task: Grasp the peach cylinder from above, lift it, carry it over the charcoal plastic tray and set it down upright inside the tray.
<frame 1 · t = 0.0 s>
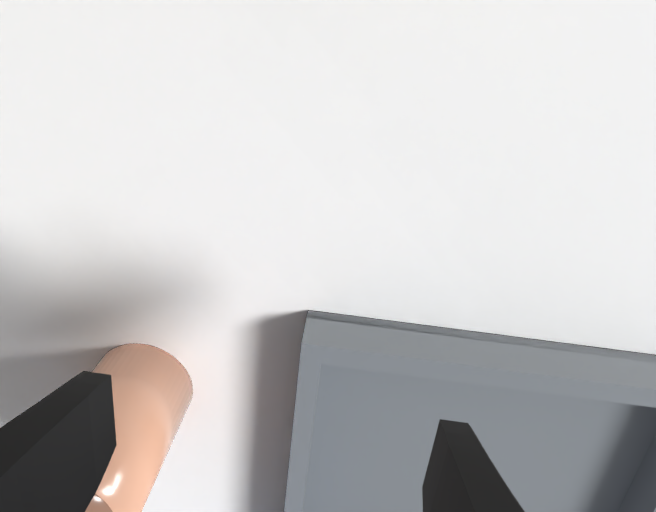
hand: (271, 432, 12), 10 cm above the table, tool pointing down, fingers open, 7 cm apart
peach cylinder: (144, 384, 25), on the table
tray: (465, 461, 25), on the table
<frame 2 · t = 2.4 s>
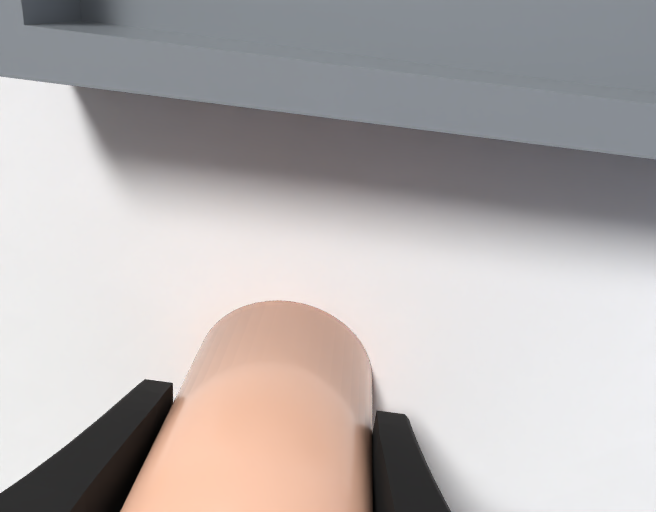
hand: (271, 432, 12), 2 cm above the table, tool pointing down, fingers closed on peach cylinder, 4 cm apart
peach cylinder: (284, 376, 14), on the table, touching gripper
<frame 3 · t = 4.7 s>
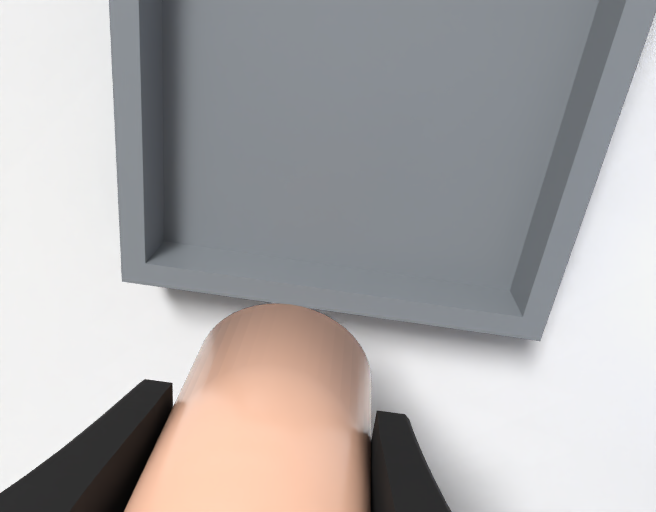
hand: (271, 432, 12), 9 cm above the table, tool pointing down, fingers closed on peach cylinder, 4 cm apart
peach cylinder: (283, 378, 14), point 7 cm above the table, touching gripper
tray: (367, 49, 17), on the table
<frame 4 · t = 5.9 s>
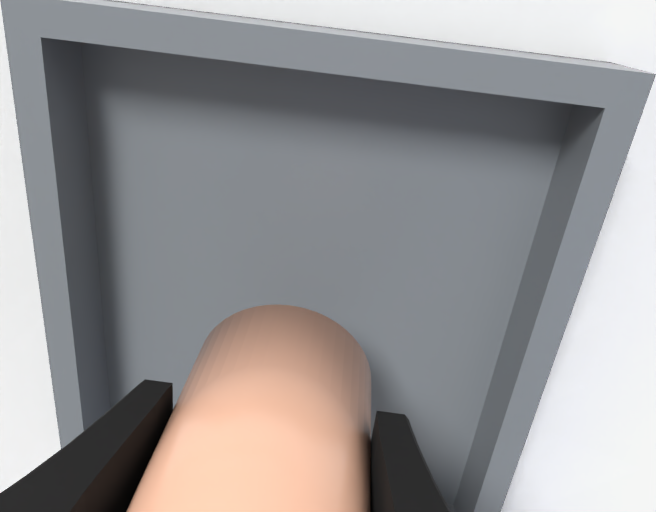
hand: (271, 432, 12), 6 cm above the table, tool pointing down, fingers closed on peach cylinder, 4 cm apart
peach cylinder: (284, 378, 14), point 4 cm above the table, touching gripper
tray: (302, 301, 17), on the table
when the fingers open (4 cm above the table, at t = 7.1 s): peach cylinder drops 1 cm, resting on tray.
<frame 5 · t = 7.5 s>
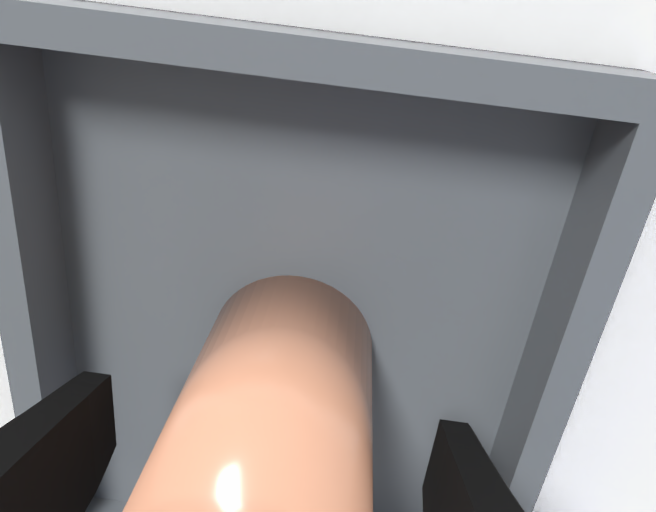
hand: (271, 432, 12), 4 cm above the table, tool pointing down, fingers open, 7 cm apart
peach cylinder: (292, 346, 15), point 1 cm above the table, touching tray
tray: (294, 331, 16), on the table
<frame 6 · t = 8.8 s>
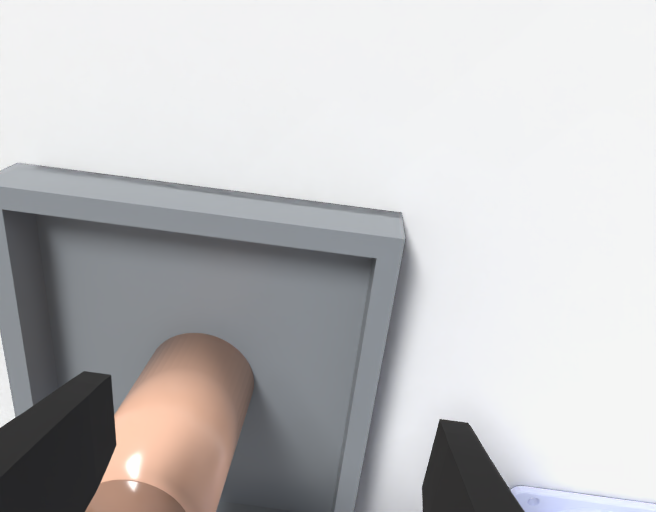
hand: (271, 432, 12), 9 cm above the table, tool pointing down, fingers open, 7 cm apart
peach cylinder: (201, 378, 23), point 1 cm above the table, touching tray
tray: (205, 366, 23), on the table
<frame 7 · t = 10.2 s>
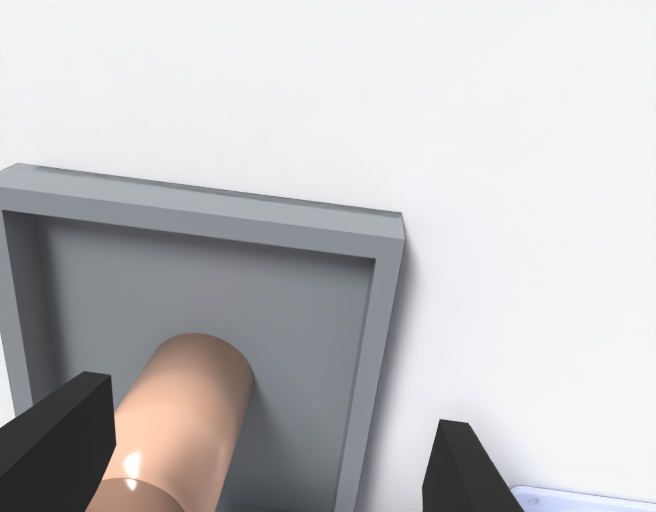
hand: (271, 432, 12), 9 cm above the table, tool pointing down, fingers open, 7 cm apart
peach cylinder: (201, 378, 22), point 1 cm above the table, touching tray
tray: (205, 367, 23), on the table
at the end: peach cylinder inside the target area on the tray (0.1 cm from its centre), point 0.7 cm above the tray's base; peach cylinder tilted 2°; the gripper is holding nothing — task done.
